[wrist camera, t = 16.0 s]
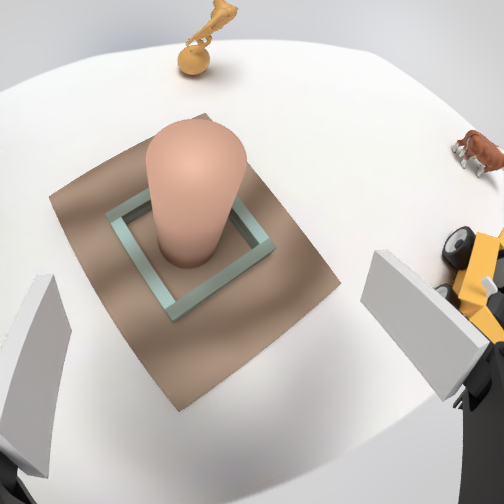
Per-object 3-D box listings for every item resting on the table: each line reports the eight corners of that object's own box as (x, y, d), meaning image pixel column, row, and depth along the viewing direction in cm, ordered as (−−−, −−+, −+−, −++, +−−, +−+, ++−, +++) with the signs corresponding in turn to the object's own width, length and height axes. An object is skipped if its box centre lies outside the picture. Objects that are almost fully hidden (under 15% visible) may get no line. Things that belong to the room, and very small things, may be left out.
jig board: (53, 203, 25) (41, 186, 22) (203, 121, 31) (207, 100, 28) (179, 408, 23) (179, 417, 19) (333, 286, 29) (352, 278, 26)
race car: (414, 315, 31) (486, 297, 21) (449, 227, 36) (504, 196, 26) (473, 378, 30) (535, 374, 20) (499, 292, 36) (551, 275, 26)
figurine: (197, 52, 35) (209, -21, 24) (235, 67, 35) (256, -7, 24) (160, 83, 32) (163, 0, 21) (201, 101, 32) (216, 15, 21)
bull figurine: (494, 194, 42) (524, 175, 35) (448, 158, 41) (480, 133, 33) (490, 175, 44) (519, 156, 36) (445, 140, 42) (474, 114, 35)
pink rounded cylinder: (147, 231, 25) (128, 144, 14) (196, 202, 27) (211, 107, 16) (179, 280, 24) (179, 221, 13) (229, 247, 26) (266, 171, 15)
